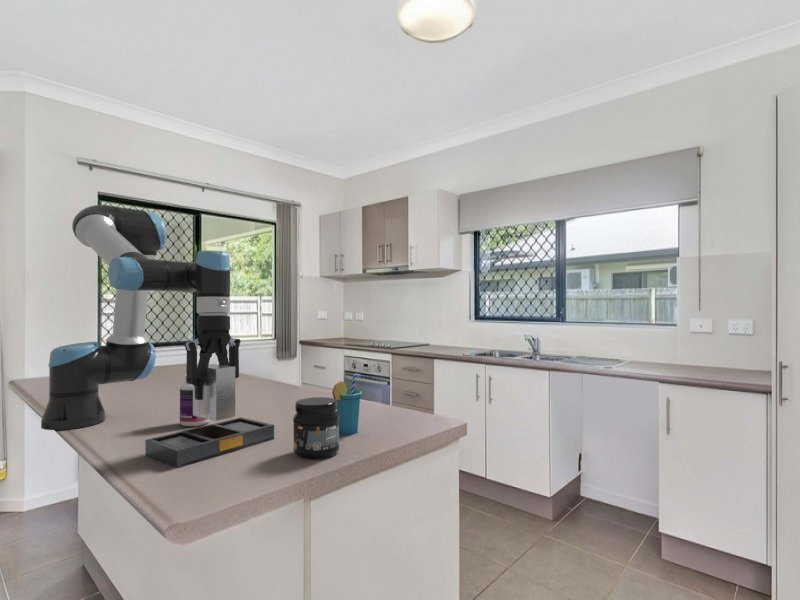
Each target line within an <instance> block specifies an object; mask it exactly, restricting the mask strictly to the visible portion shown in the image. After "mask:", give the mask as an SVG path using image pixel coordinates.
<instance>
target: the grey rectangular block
mask: <svg viewBox="0 0 800 600" xmlns="http://www.w3.org/2000/svg"><path fill="white" fill-rule="evenodd" d="M197 367H198V365H197ZM204 385H205V386H207V414H202V413H198V400H196V399H195V386H194V385H193V415H194V416H198V417H202V418H206V419H210V420H211V421H215V422H218V421H221V420H222V421H223V420H226V419H231V418H235V417H236V378H235V366H227V365H219V363H218V364H214V363H209V365H208V368H207V374H206V378H205V382H204Z"/></svg>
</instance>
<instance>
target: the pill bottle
mask: <svg viewBox="0 0 800 600" xmlns="http://www.w3.org/2000/svg"><path fill="white" fill-rule="evenodd" d="M184 381H185V382H182V383H181V385H180V386H179V424H180V425H181V426H182V427H189V428H190V427H202V426H205V425H208V423H209V422H210V419H206V418H202V417H198V416H194V415H193V385H192V384H188V383H187V382H186V374H184Z"/></svg>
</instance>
